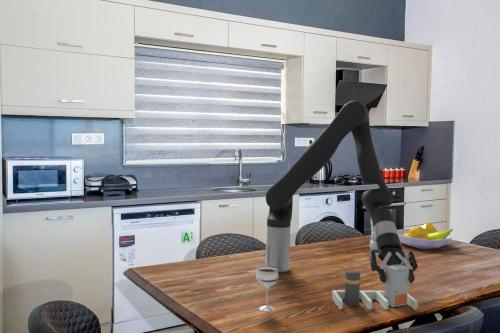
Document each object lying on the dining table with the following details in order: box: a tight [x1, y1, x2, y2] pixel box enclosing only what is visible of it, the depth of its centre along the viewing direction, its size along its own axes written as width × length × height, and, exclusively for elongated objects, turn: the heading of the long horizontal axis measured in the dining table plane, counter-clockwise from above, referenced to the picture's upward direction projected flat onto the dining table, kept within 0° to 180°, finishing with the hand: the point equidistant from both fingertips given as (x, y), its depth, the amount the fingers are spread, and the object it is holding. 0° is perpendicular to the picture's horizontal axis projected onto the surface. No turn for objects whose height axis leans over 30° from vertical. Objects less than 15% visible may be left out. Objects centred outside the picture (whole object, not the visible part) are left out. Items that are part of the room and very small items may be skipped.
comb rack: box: [331, 289, 418, 311], centre depth 145 cm, size 24×10×2 cm, turn 93°
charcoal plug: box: [343, 270, 361, 307], centre depth 144 cm, size 5×5×10 cm
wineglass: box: [255, 265, 280, 313], centre depth 139 cm, size 7×7×12 cm
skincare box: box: [383, 264, 409, 308], centre depth 145 cm, size 6×4×12 cm
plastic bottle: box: [369, 218, 378, 252], centre depth 216 cm, size 6×7×20 cm
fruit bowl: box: [397, 222, 454, 250], centre depth 228 cm, size 28×27×11 cm
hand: (398, 282), depth 144 cm, fingers open, 8 cm apart
